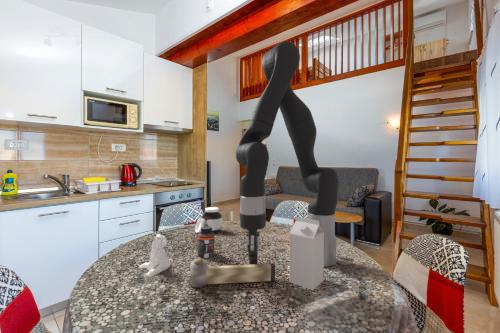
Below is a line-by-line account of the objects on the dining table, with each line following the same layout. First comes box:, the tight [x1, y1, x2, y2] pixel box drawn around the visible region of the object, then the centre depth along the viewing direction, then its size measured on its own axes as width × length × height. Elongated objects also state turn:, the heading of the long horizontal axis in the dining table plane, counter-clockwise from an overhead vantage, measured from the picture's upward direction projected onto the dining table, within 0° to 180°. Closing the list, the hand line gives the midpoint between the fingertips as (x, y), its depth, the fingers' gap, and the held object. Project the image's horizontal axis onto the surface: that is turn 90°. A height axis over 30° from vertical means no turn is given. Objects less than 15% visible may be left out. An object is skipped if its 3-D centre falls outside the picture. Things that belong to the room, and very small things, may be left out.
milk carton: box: [288, 216, 324, 291], centre depth 67 cm, size 7×7×19 cm
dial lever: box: [189, 257, 276, 288], centre depth 66 cm, size 23×4×6 cm, turn 97°
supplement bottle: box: [197, 226, 216, 259], centre depth 86 cm, size 6×6×11 cm
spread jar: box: [194, 206, 223, 234], centre depth 119 cm, size 12×11×12 cm
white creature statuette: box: [139, 233, 172, 278], centre depth 75 cm, size 10×9×12 cm
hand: (253, 269), depth 70 cm, fingers closed
